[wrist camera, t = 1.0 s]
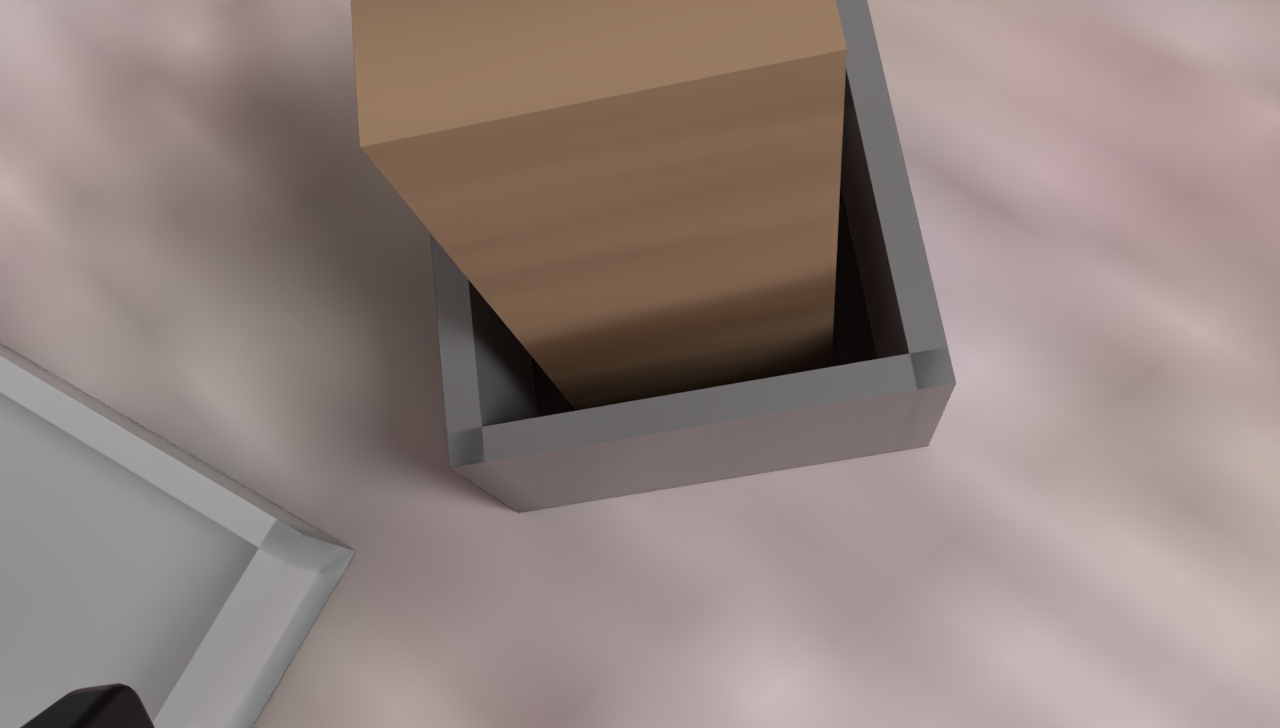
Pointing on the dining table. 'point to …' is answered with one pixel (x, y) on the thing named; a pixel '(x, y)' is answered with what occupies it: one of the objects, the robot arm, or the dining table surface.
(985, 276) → the dining table surface
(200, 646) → the plastic tray
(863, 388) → the charcoal open-top box
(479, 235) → the walnut block
